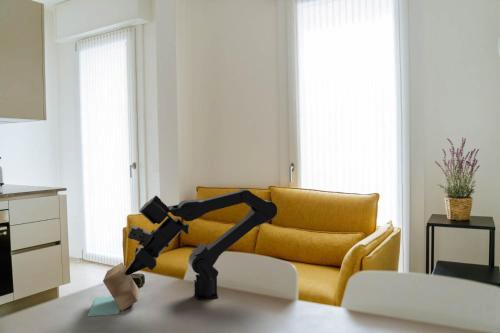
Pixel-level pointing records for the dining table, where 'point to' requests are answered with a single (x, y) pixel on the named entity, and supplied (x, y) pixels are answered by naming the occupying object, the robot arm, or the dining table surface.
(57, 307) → the dining table surface
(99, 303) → the mat
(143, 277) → the tape measure
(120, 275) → the light brown wooden block
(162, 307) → the dining table surface
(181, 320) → the dining table surface
